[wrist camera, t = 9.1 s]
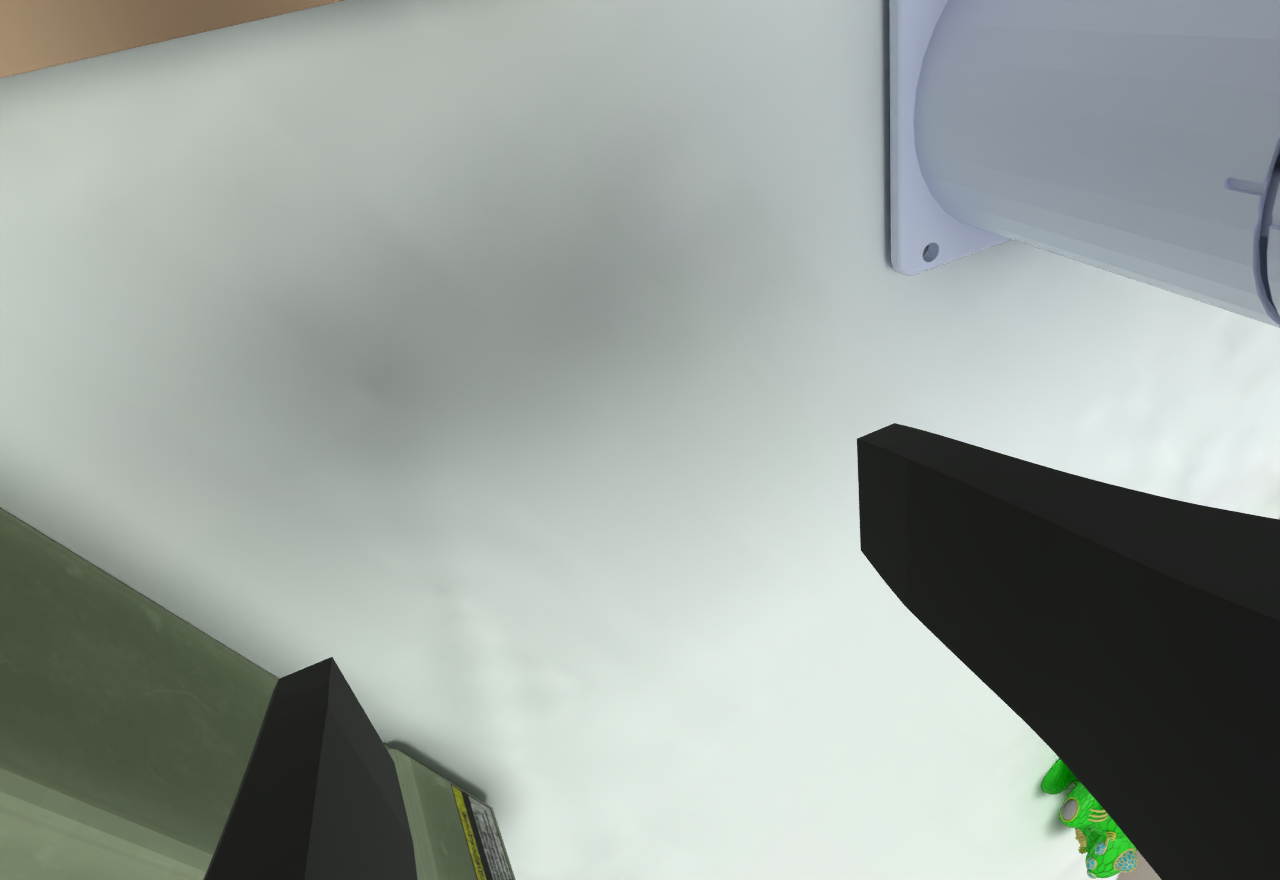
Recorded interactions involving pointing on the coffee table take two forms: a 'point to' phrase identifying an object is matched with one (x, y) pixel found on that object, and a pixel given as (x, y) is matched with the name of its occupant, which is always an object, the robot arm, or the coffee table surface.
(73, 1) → the walnut hole plate
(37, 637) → the handheld radio
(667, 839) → the coffee table surface
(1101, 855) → the crocodile figurine
